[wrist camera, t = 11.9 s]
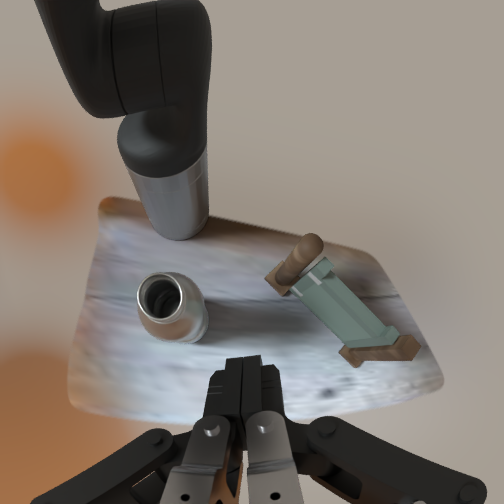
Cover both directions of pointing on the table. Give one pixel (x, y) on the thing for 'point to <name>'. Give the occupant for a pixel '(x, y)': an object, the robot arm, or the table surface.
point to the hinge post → (295, 263)
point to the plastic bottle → (172, 308)
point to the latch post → (383, 351)
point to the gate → (341, 308)
